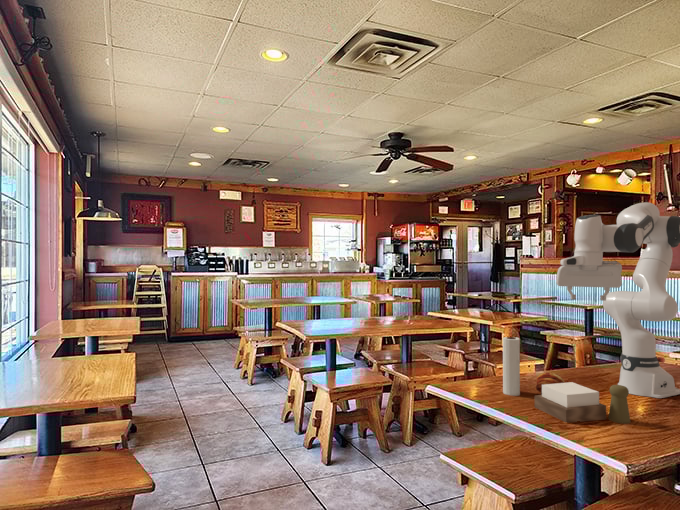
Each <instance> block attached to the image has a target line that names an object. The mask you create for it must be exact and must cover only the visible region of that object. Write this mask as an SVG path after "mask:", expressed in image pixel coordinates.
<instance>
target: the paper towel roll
mask: <svg viewBox="0 0 680 510" xmlns="http://www.w3.org/2000/svg"><path fill="white" fill-rule="evenodd" d="M520 341H521V339H520V338H519V337H517V336H516V337H513V336H505V337H502V393H503V394H504V395H507V396H512V397H515V396H516V397H517V396H518V397H519V396H520V395H521V386H520V385H521V382H520V381H521V377H520V376H521V374H520V373H521V372H520V371H521V370H520V368H521V367H520V366H521V365H520V363H521V362H520V359H521V358H520V355H521V353H520V351H521V350H520V349H521V348H520V347H521V345H520V343H521V342H520Z"/></svg>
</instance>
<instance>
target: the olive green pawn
mask: <svg viewBox="0 0 680 510" xmlns="http://www.w3.org/2000/svg"><path fill="white" fill-rule="evenodd" d="M609 393H610V395H611V397H610V398H611V399H610V402H609V411H608V418H607V419H608V420H609V421H611V422H613V423H617V424H624V425H625V424H627V425H628V424H630V423H631V416H630V411H629V409H630V408H629V403H628V397H629V391H628V389H627V387H625V386H622V385H618V384H613V385H611V386H610V387H609Z"/></svg>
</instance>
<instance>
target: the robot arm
mask: <svg viewBox="0 0 680 510" xmlns="http://www.w3.org/2000/svg"><path fill="white" fill-rule="evenodd" d="M573 237H574V238H573V240H574V244H575V247H574V253H573V256H569V257H566V258H562V259H560V262H559V263H560V266H559V267H558V268H557V273H556V280H555V281H556V285H557V286H558V287H566V290H567V292H568V294H570V300H573V301H574V300H575V301H576V300H577V294H574V293H573V292H572V290H573V287H574V288H575V287H577V288H603V291H604V293H603V294H601V295H600V294H599V295H600V296H599V297H600V299H599V300H600V301H602V306H603V307H602V308H603V310H604V311H605V313H606V314H607V315H608V316H609V317H611V319H613V320H614V322H615V324H617V326H618V329H619V332H620V337H621V346H622V347H621V350H622V352H621V354H620V362H621V366H620V370H619V371H620V373H619V381H618V382H617V385H622V386H625V387H627V389H628V391H629V394H630V395H635V396H641V397H650V398H656V399H662V398H663V399H664V398H668V397H672V396H677V395H680V388H678V387H676V385H675V378H674V377H673V375H672V374H670V373H669V372H668V371H666V370H665V369H664V368H663V367H661V364H664V363H665V362H666V359H665V357H661V356H657V347H656V346H657V345H656V341H657V339H656V337H655V335H654V334H653V333H652V331H649V330H648V329H646V328H645V327H644V326H643V324H642V322H641V321H646V322H647V321H648V322H654V323H655V322H658V323H659V322H669V321H670V322H671V321H672V320H673V319H675V317H676V315H677V314H678V311H679V307H678V303H677V301H676V299H675V298H674V297H673V296H672V295H670V294H669V293H668V291H667V289H666V282H667V278H668V275H669V272H670V269H671V267H672V262H673V257H674V256H673V249H672V248H677V247H678V246H679V245H680V216H679V215H671V216H670V215H669V216H667V215H665V216H664V215H661V213H660V209H659V207H658V206H657V205H655V204H654V203H652V202H649V201H648V202H647V201H646V202H639V203H636V204H633V205H630V206H629V207H627V208H624V209H623V210H622V211H620V212H619V213H618V215H617V217H616V224H604V223H603V222H602V217H601V215H600V214H588V215H586V214H585V215H581V216H579V217H577V218H576V221H575V226H574V236H573ZM643 244H645V245H646V247H645V248H644V249H643V252H642V253H641V254H640V257H639V258H638V260H637V264H636V266H635V268H634V271H633V274H632V282H633V283H634V284H635V286H637V287H638V288H639V289H641V291H632V290H631V291H630V290H616V291H611V289H612V288H613V289H618V288H620V287H621V286H623V285H622V283H623V281H622V271H623V266H622V264H621V263H620V262H619V261H616V260H611V261H610V260H604V259H603V255H604V252H605V253H616V252H617V253H618V252H619V253H635V252H636V251H638V250H639V249H640V248H641V247H642V245H643ZM610 291H611V292H610ZM660 363H661V364H660ZM629 394H628V395H629Z"/></svg>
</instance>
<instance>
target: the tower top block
mask: <svg viewBox="0 0 680 510" xmlns="http://www.w3.org/2000/svg"><path fill="white" fill-rule="evenodd" d="M541 395H542V397H544V398H547V399H549V400H551V401H553V402H556V403H558V404H560V405H562V406H565V407H567V408H569V407H579V406H589V405H599V403H600V391H597V390H595V389H592V388H589V387H586V386H583V385H582V384H578V383H576V382H573V381H571V382H570V381H569V382H565V383H556V384H544V385H542V392H541Z"/></svg>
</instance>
